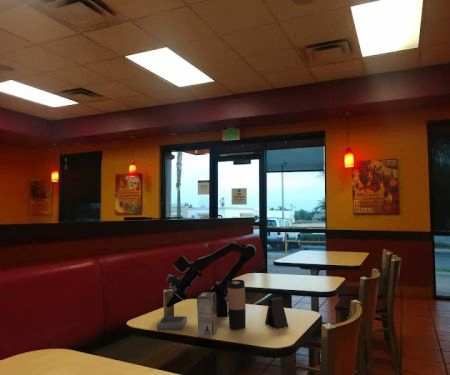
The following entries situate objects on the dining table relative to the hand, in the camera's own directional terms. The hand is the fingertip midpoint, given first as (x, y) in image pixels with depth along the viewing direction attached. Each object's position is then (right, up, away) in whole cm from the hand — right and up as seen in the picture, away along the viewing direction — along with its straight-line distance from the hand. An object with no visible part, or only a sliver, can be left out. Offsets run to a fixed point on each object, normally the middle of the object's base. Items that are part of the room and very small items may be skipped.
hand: (165, 304), depth 183 cm
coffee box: (+21, -5, -23) cm, 32 cm away
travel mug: (+34, -5, -17) cm, 38 cm away
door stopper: (+51, -5, -16) cm, 54 cm away
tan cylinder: (+2, -7, 0) cm, 7 cm away
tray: (+5, -6, -12) cm, 14 cm away
